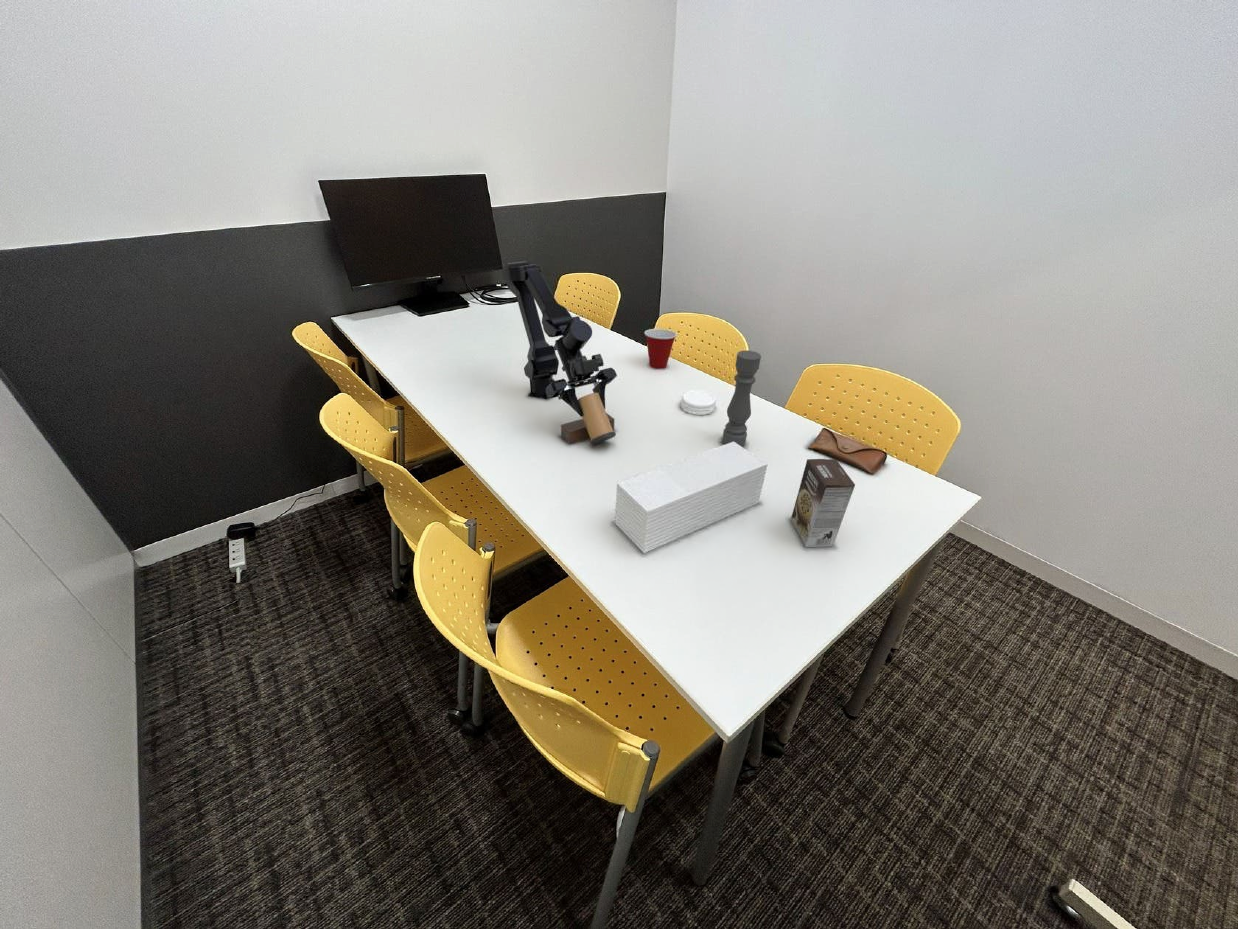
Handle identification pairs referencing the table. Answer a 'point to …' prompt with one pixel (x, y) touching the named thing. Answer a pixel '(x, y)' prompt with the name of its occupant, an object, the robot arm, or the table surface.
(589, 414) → the tan cylinder
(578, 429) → the walnut block
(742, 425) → the candle holder
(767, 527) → the table surface
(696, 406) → the coaster
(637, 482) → the stack of papers
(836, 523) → the brown food box
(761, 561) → the table surface
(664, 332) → the plastic cup
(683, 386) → the table surface
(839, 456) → the sunglasses case
